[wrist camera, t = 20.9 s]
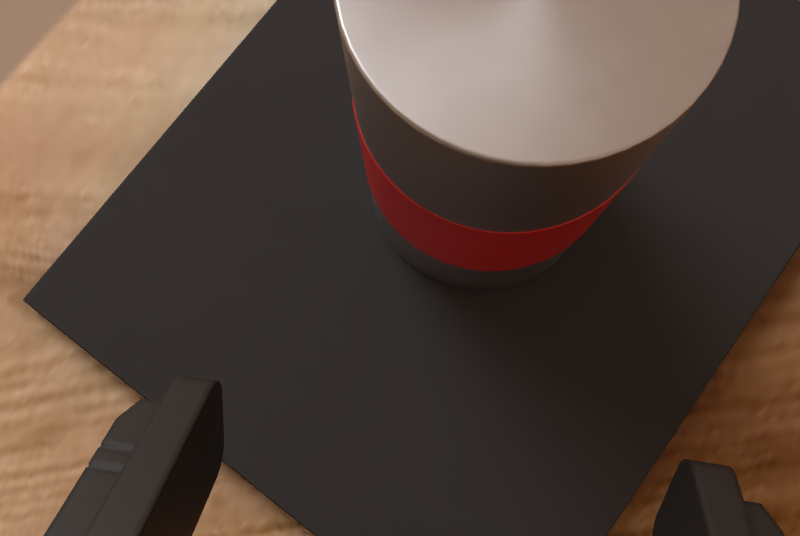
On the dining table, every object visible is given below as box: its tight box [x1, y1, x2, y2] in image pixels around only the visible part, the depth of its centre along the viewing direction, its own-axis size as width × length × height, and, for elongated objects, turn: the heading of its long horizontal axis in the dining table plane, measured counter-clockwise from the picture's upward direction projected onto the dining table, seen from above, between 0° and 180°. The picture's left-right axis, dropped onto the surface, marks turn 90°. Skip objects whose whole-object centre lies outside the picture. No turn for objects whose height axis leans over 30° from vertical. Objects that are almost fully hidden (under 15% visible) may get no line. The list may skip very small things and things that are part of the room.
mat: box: [23, 0, 800, 536], centre depth 21 cm, size 20×16×1 cm
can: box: [334, 0, 740, 290], centre depth 16 cm, size 6×6×10 cm
